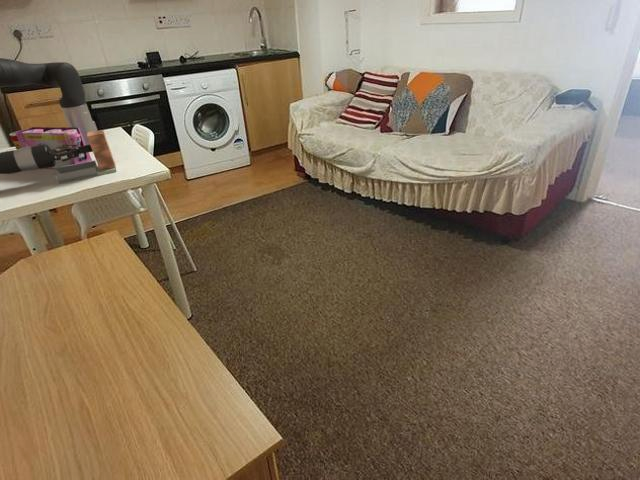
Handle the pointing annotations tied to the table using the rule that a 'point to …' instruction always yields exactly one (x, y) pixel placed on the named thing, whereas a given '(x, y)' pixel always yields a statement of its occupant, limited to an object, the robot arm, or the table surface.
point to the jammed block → (101, 149)
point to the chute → (81, 171)
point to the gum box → (54, 141)
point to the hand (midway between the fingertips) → (92, 147)
